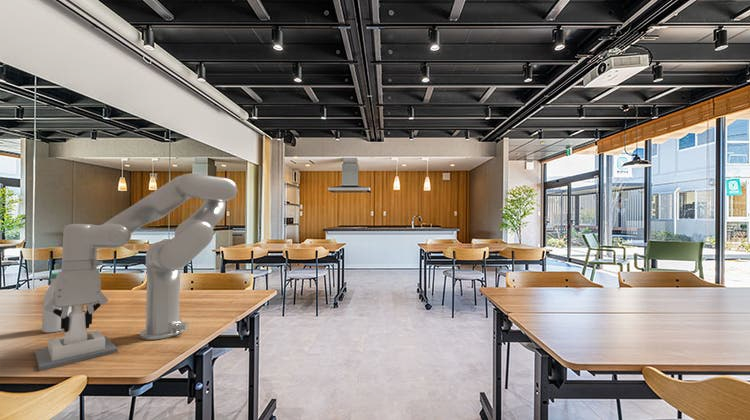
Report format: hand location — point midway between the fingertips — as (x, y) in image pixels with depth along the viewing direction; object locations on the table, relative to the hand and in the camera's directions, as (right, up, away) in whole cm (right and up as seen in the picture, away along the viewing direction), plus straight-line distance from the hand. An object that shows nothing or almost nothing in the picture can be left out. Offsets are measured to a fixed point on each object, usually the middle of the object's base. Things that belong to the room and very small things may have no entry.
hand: (76, 328), depth 94 cm
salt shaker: (0, -4, 0) cm, 4 cm away
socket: (0, -7, 0) cm, 7 cm away
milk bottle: (-25, -8, +20) cm, 33 cm away
